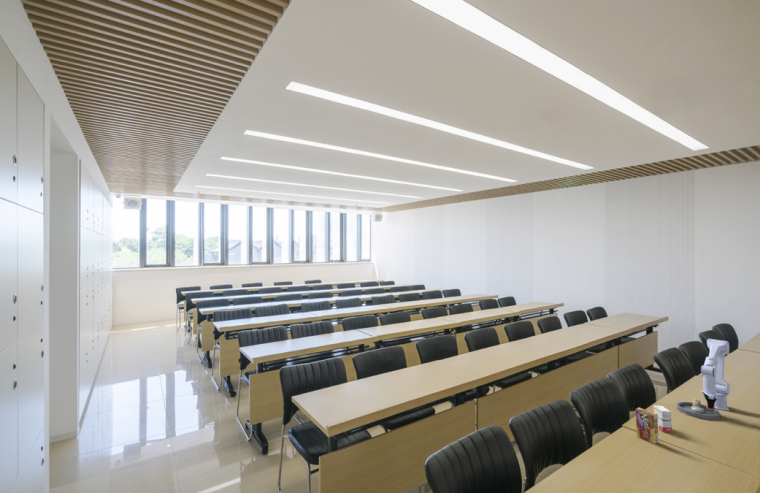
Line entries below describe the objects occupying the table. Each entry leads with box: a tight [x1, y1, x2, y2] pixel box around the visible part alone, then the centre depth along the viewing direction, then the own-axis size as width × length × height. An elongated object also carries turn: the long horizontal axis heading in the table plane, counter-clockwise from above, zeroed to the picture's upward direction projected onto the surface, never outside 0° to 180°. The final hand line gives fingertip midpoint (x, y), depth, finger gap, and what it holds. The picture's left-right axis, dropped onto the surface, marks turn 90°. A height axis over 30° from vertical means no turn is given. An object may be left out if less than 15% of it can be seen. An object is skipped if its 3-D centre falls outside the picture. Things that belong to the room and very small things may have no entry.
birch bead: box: [691, 399, 702, 408], centre depth 223 cm, size 4×4×5 cm
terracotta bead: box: [705, 400, 716, 411], centre depth 215 cm, size 4×4×5 cm
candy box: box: [635, 407, 659, 445], centre depth 187 cm, size 9×4×15 cm, turn 26°
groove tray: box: [676, 401, 721, 421], centre depth 218 cm, size 20×20×3 cm
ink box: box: [653, 404, 673, 433], centre depth 198 cm, size 9×5×12 cm, turn 168°
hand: (710, 407), depth 215 cm, fingers closed on terracotta bead, 4 cm apart
